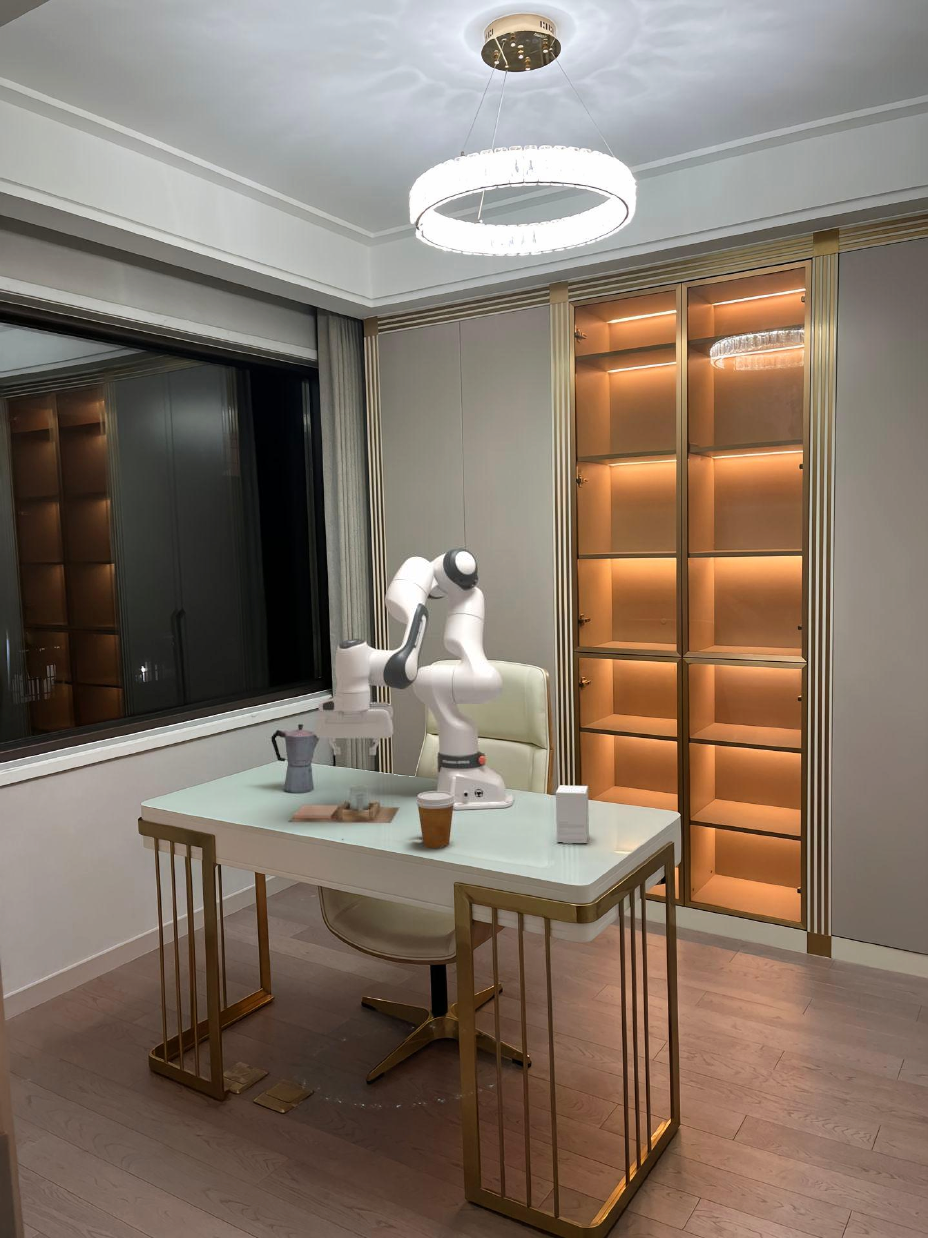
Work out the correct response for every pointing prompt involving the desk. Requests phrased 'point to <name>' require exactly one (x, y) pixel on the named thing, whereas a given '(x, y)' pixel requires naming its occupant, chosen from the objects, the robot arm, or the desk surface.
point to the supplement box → (572, 814)
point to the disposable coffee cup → (435, 817)
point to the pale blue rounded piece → (359, 798)
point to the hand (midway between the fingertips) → (354, 754)
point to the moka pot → (297, 758)
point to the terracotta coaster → (316, 811)
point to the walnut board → (357, 815)
